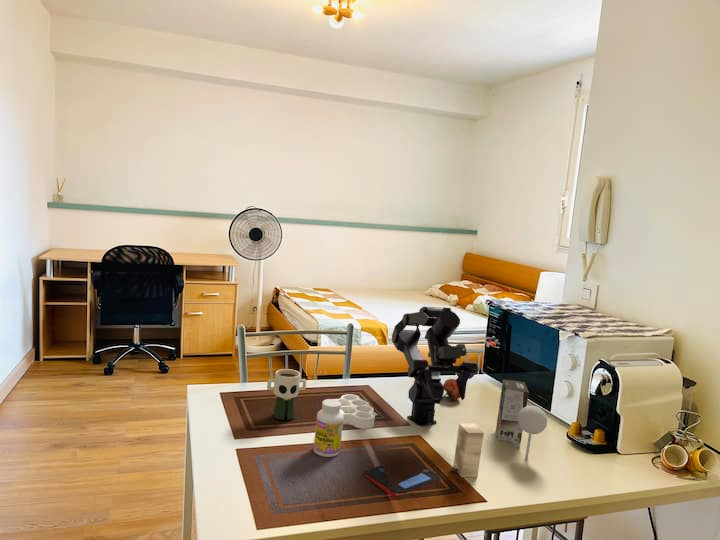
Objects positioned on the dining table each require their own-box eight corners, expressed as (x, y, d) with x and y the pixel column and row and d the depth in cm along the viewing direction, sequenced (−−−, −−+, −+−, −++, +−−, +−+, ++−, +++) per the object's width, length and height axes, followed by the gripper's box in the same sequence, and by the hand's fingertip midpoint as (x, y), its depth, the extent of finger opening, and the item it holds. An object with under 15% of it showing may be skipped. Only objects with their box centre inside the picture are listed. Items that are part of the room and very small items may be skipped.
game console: (406, 461, 128) (407, 452, 128) (443, 486, 118) (444, 477, 118) (360, 475, 119) (361, 466, 119) (396, 503, 109) (398, 494, 109)
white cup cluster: (319, 405, 157) (364, 403, 162) (335, 431, 140) (385, 429, 145) (320, 394, 157) (365, 393, 162) (336, 419, 140) (386, 417, 145)
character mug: (265, 422, 140) (269, 377, 138) (263, 412, 147) (267, 368, 145) (305, 422, 143) (309, 377, 142) (300, 411, 150) (304, 368, 148)
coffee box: (520, 448, 141) (529, 392, 139) (496, 443, 142) (505, 388, 140) (517, 434, 150) (525, 381, 148) (495, 430, 151) (502, 378, 149)
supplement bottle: (308, 453, 126) (313, 403, 124) (320, 442, 132) (325, 395, 130) (333, 460, 124) (338, 410, 122) (344, 449, 130) (349, 401, 128)
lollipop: (540, 458, 136) (548, 405, 134) (540, 471, 129) (549, 414, 128) (512, 452, 138) (520, 399, 136) (511, 463, 132) (519, 408, 130)
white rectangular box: (445, 466, 124) (451, 423, 122) (468, 465, 125) (474, 423, 124) (453, 477, 119) (459, 432, 118) (477, 476, 120) (483, 432, 119)
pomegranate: (448, 410, 169) (473, 393, 170) (437, 392, 168) (462, 375, 169) (442, 403, 176) (465, 387, 177) (431, 386, 176) (455, 370, 177)
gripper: (416, 330, 136) (425, 386, 127) (480, 333, 140) (494, 387, 131) (403, 350, 144) (411, 403, 135) (464, 352, 149) (476, 404, 140)
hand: (448, 399), depth 135 cm, fingers open, 8 cm apart
